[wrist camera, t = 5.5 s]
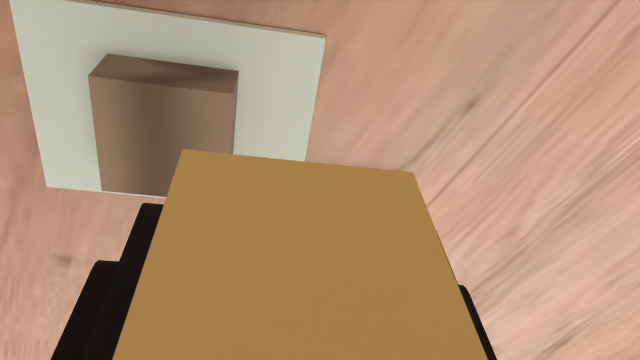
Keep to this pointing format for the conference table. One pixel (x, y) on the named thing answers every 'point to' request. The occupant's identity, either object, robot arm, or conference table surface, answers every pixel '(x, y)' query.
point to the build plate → (165, 45)
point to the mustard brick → (295, 268)
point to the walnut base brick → (157, 119)
